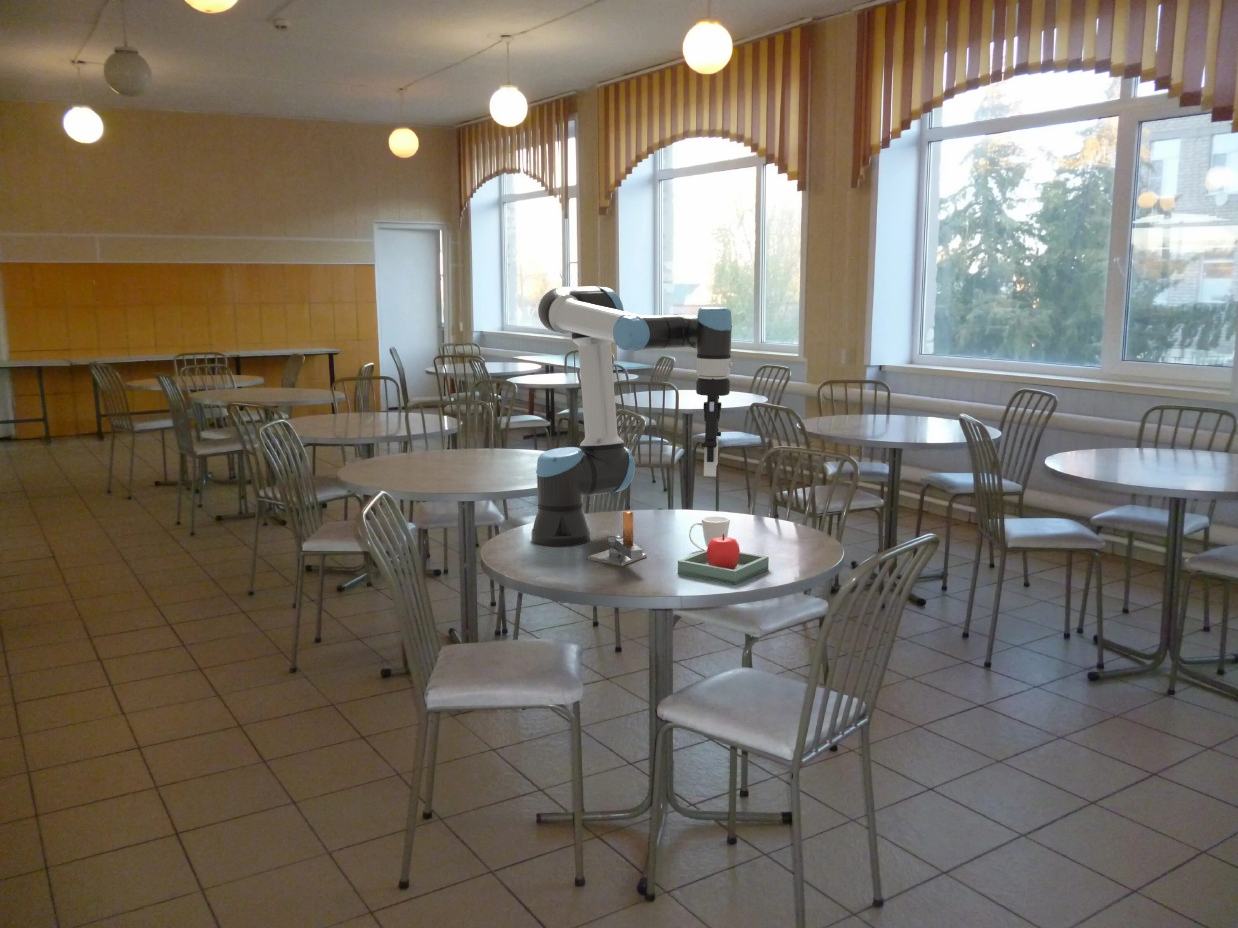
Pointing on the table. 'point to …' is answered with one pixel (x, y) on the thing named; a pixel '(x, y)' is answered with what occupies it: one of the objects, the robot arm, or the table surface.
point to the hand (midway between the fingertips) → (710, 470)
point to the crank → (626, 538)
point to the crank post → (613, 557)
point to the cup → (712, 528)
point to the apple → (723, 552)
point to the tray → (744, 570)
